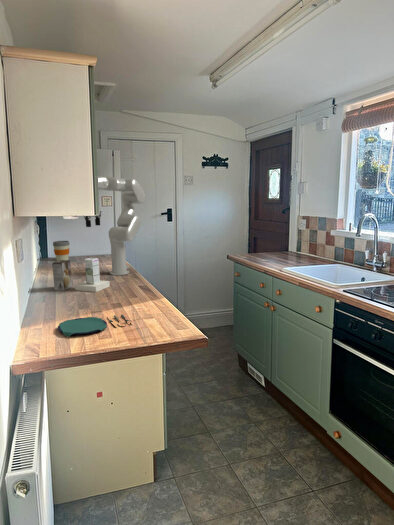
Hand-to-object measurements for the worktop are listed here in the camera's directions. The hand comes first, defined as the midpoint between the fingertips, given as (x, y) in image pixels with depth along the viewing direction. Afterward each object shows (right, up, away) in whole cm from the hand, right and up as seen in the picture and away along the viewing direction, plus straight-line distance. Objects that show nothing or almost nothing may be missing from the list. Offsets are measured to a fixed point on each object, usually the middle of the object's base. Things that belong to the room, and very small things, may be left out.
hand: (93, 226), depth 251 cm
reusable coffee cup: (-45, -20, +81) cm, 95 cm away
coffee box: (-15, -37, -11) cm, 42 cm away
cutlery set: (+20, -50, -76) cm, 93 cm away
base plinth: (+2, -37, -11) cm, 39 cm away
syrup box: (+3, -34, -12) cm, 36 cm away
